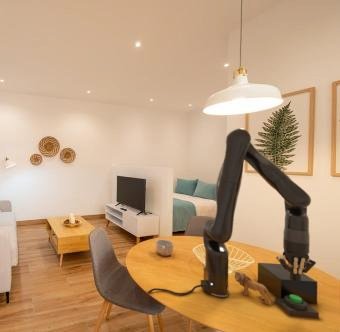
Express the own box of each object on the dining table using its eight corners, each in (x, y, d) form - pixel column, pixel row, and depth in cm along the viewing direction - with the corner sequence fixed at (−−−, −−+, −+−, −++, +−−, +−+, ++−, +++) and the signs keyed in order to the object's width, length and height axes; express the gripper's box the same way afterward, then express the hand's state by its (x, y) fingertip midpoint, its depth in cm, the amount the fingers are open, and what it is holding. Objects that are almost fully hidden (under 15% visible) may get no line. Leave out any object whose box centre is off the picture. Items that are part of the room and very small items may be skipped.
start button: (294, 303, 84) (294, 299, 84) (287, 298, 88) (287, 294, 88) (304, 304, 84) (304, 300, 84) (296, 299, 87) (297, 294, 87)
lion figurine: (232, 291, 99) (232, 272, 99) (236, 287, 102) (236, 268, 102) (273, 307, 87) (274, 286, 87) (276, 302, 91) (276, 281, 91)
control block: (289, 315, 83) (289, 305, 83) (274, 302, 91) (274, 293, 90) (318, 318, 81) (318, 308, 81) (301, 304, 89) (301, 295, 89)
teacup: (159, 249, 147) (159, 237, 147) (175, 253, 141) (175, 241, 141) (152, 256, 136) (152, 244, 136) (169, 261, 130) (169, 248, 129)
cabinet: (257, 281, 107) (257, 262, 107) (288, 283, 105) (288, 264, 105) (280, 301, 91) (281, 279, 91) (317, 304, 89) (317, 281, 89)
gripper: (307, 237, 88) (306, 278, 88) (271, 235, 90) (270, 275, 90) (323, 243, 81) (322, 289, 81) (284, 241, 83) (283, 285, 83)
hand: (295, 281), depth 86 cm, fingers closed
